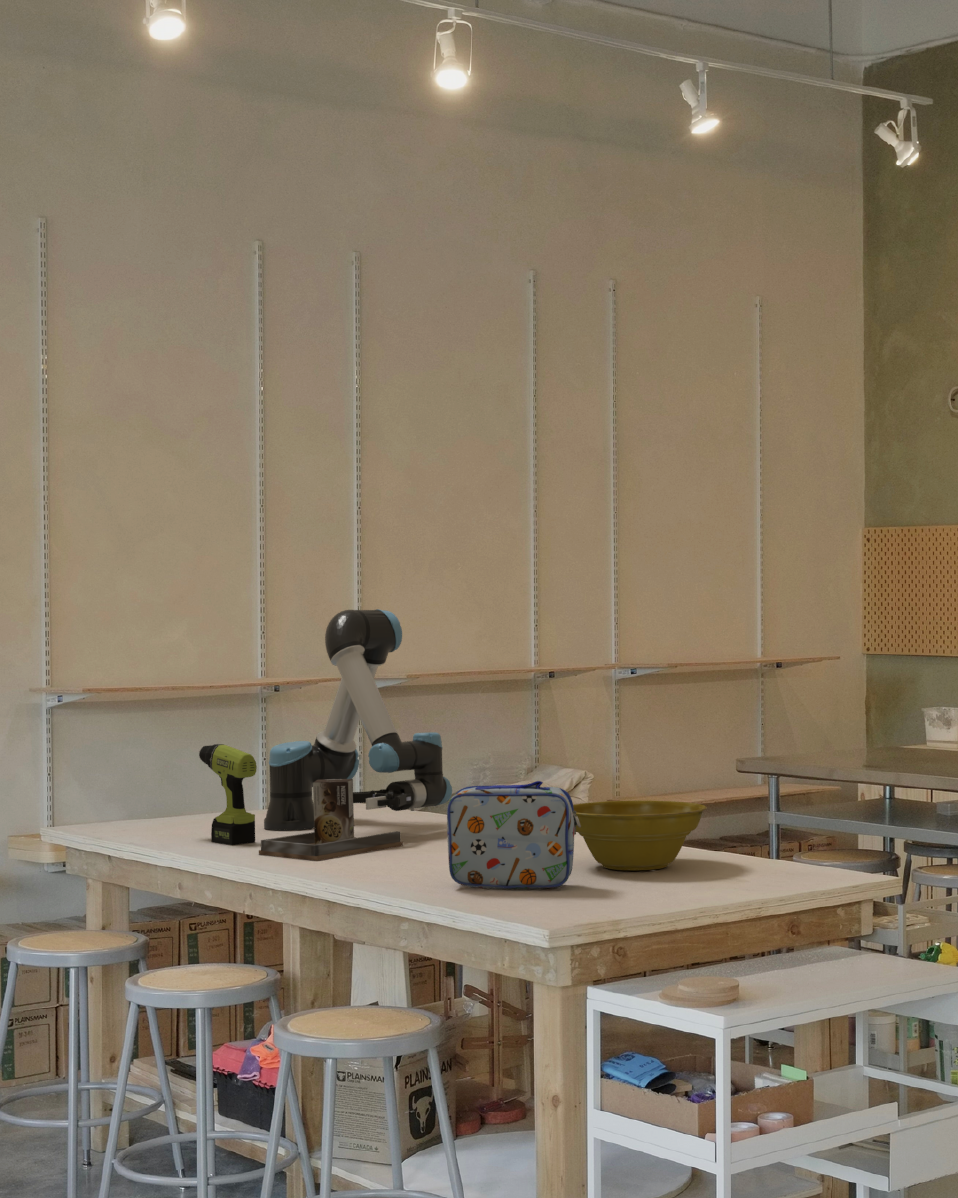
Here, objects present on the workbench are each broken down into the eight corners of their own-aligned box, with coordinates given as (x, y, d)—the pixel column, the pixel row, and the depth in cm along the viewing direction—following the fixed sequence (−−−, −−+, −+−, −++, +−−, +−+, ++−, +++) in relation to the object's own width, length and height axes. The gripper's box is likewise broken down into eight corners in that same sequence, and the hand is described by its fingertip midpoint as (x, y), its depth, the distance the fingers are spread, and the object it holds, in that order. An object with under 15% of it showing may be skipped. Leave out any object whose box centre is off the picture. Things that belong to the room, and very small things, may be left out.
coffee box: (355, 843, 378) (354, 778, 379) (350, 847, 372) (349, 781, 373) (318, 843, 379) (317, 778, 380) (313, 847, 373) (312, 781, 373)
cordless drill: (188, 838, 403) (187, 743, 403) (211, 835, 407) (210, 742, 408) (237, 846, 386) (236, 747, 386) (260, 843, 390) (259, 745, 391)
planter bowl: (570, 856, 357) (569, 798, 357) (709, 857, 352) (708, 798, 352) (553, 878, 325) (552, 814, 326) (706, 879, 320) (705, 815, 320)
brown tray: (258, 854, 369) (258, 840, 370) (344, 840, 393) (344, 826, 393) (317, 860, 357) (317, 845, 357) (403, 845, 380) (402, 831, 380)
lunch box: (583, 883, 317) (581, 777, 318) (578, 892, 307) (576, 782, 307) (453, 882, 321) (451, 778, 322) (444, 891, 311) (442, 782, 312)
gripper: (441, 812, 388) (384, 821, 371) (370, 807, 403) (312, 814, 387) (440, 782, 388) (383, 790, 371) (369, 778, 404) (311, 785, 387)
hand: (347, 802), depth 379 cm, fingers open, 13 cm apart
